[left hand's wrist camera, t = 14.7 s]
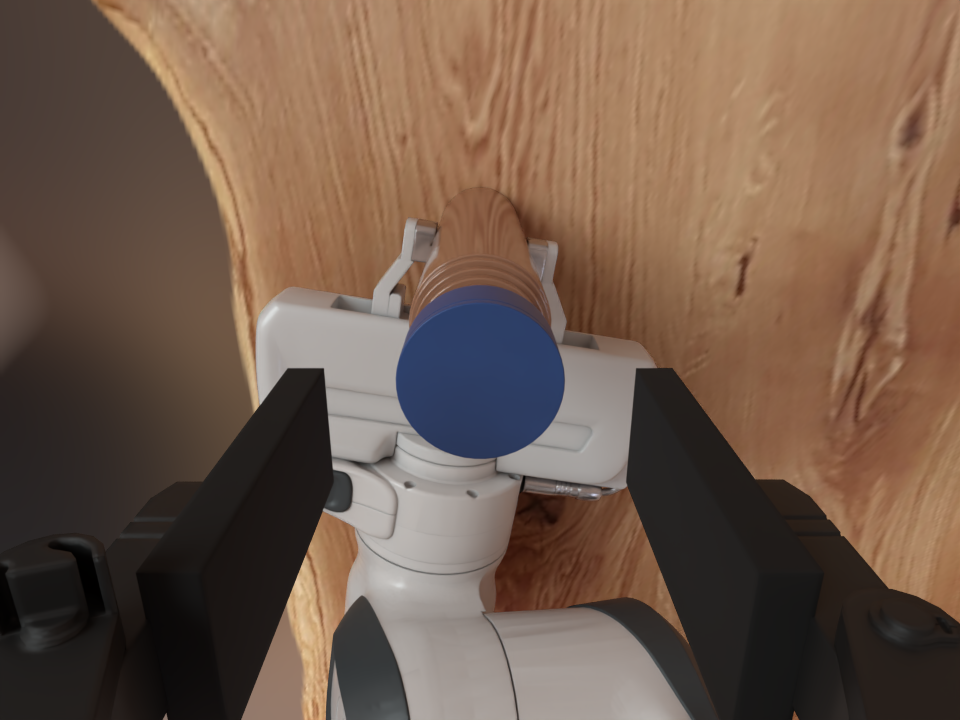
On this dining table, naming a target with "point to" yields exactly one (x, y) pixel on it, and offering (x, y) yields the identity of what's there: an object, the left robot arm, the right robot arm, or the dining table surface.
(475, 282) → the bottle
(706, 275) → the dining table surface
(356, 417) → the right robot arm
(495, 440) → the cap
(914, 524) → the dining table surface
